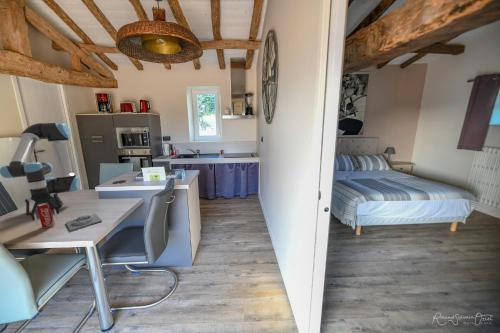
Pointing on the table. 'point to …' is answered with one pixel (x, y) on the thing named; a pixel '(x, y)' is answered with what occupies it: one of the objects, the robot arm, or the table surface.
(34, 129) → the robot arm
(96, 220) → the seat plate
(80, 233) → the table surface
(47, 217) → the beverage can
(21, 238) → the table surface
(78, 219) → the collar
